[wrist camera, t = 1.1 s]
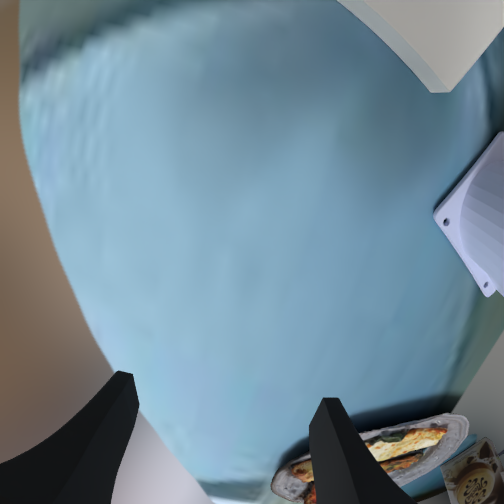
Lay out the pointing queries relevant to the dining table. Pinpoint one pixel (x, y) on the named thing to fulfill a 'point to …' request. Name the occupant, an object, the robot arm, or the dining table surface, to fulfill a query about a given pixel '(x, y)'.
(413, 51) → the button panel
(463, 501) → the coffee box
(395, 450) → the food plate
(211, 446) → the dining table surface
